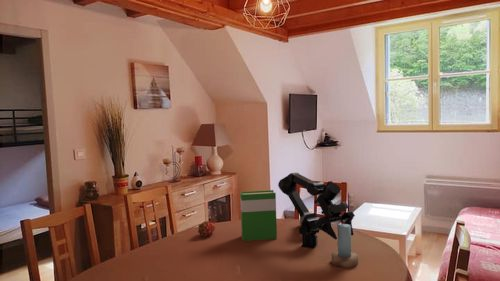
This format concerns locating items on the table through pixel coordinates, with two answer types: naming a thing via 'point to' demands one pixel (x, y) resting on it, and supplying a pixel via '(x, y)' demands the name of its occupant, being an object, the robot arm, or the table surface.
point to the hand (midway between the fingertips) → (344, 237)
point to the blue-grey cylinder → (344, 240)
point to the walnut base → (345, 260)
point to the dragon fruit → (206, 229)
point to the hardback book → (258, 215)
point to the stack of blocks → (300, 218)
